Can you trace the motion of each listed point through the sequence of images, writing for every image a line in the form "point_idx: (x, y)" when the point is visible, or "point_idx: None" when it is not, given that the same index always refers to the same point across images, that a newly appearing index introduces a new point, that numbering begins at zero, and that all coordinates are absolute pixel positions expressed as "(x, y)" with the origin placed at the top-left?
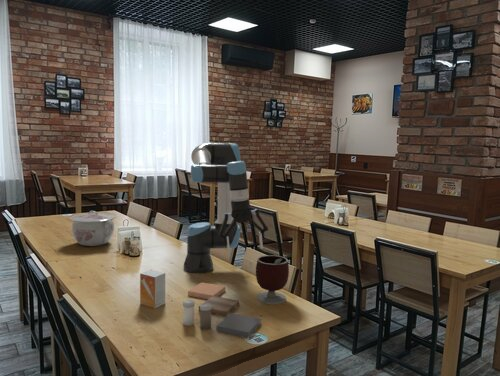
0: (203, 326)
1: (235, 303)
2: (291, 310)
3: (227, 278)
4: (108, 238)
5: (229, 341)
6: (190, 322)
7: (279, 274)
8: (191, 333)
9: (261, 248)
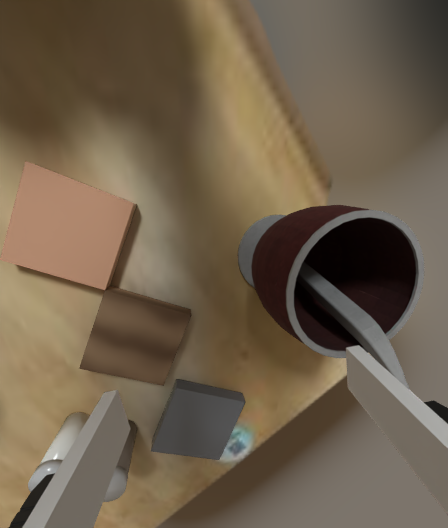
0: None
1: (182, 335)
2: None
3: (125, 62)
4: None
5: (183, 466)
6: None
7: (343, 331)
8: None
9: (351, 391)
